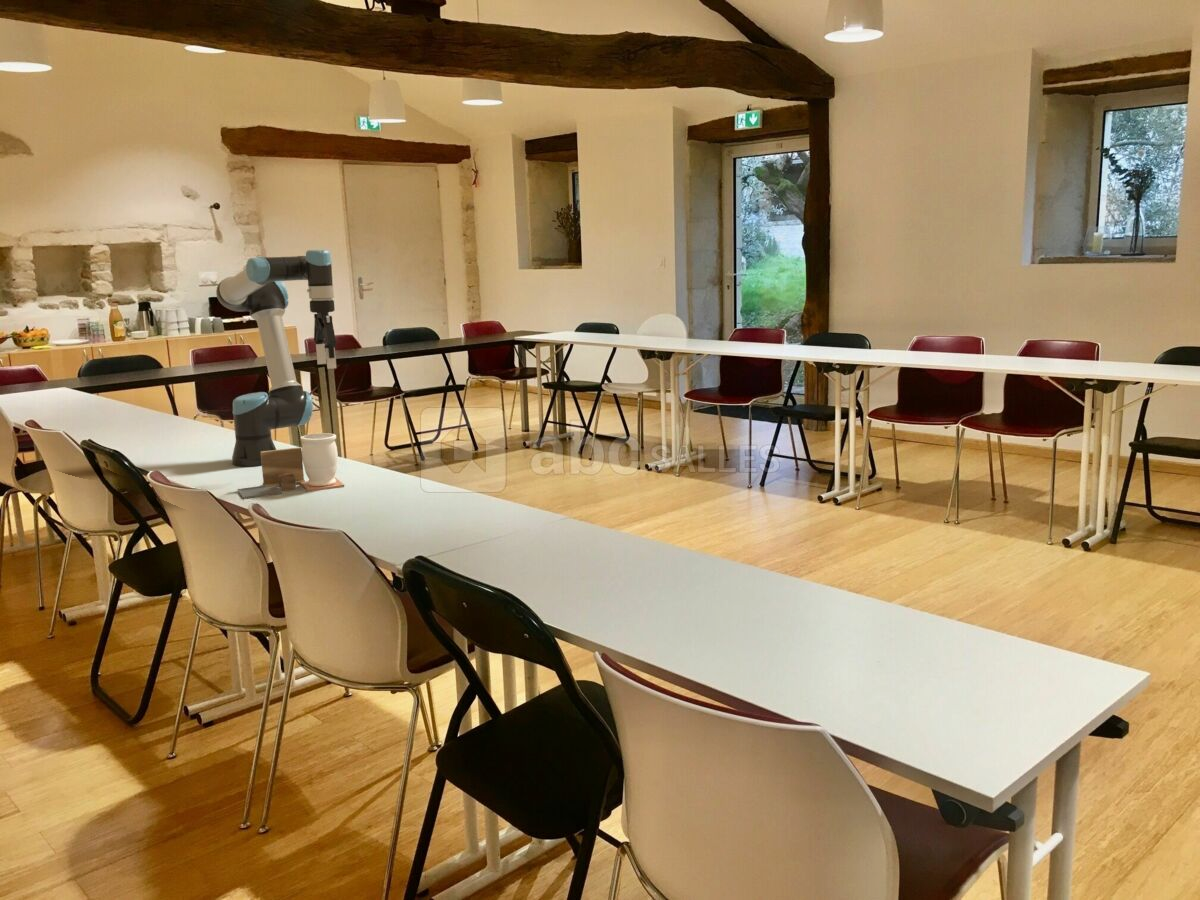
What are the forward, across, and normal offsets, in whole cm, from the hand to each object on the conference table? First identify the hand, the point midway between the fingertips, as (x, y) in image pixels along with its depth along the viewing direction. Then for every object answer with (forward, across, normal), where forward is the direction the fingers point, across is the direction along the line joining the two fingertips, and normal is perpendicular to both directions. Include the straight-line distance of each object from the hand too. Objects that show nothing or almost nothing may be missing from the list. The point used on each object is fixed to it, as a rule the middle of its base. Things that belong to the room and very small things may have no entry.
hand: (326, 366), depth 320 cm
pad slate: (+35, +16, -26) cm, 46 cm away
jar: (+34, +17, -8) cm, 39 cm away
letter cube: (+35, +15, -18) cm, 42 cm away
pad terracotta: (+35, +17, -8) cm, 39 cm away
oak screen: (+35, +9, -18) cm, 40 cm away
